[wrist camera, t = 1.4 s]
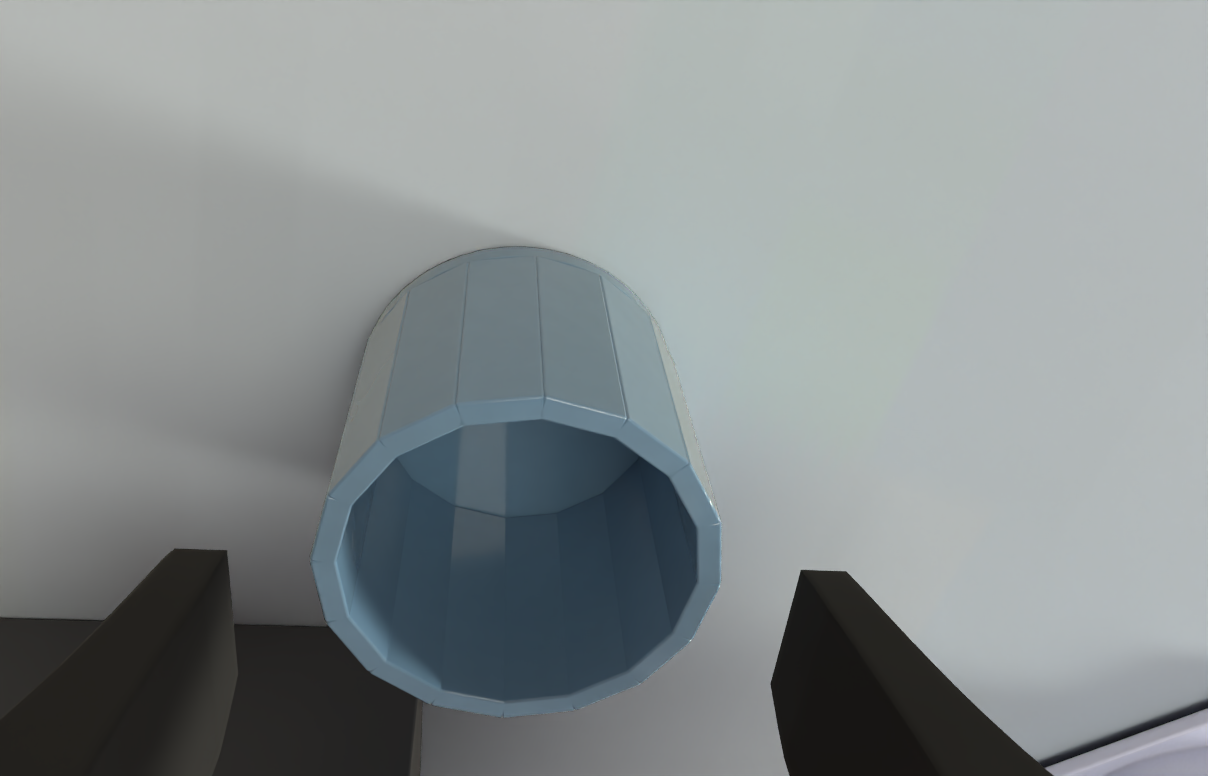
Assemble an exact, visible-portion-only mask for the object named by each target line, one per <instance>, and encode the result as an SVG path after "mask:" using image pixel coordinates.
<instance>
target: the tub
mask: <svg viewBox="0 0 1208 776" xmlns="http://www.w3.org/2000/svg"><path fill="white" fill-rule="evenodd" d="M721 555H722V523H721V519H720V515H719V512H718V508H717V505H716V502H715V498H714V495H713V492H712V488H711V485H710V481H709V478H708V475H707V471H706V468H705V465H704V461H703V458H702V455H701V451H700V448H699V444H698V441H697V438H696V434H695V431H694V428H693V424H692V421H691V417H690V414H689V411H688V407H687V404H686V401H685V397H684V394H683V390H682V387H681V384H680V380H679V377H678V374H677V370H676V367H675V363H674V361H673V359H672V357H671V355H670V353H669V351H668V349H667V346H666V343H665V340H664V338H663V336H662V333H661V331H660V328H659V326H658V325H657V323H656V321H655V320H654V318H653V316H652V315H651V313H650V311H649V310H648V309H647V308H646V306H645V305H644V304H643V303H642V301H641V300H640V299H639V298H638V297H637V296H636V295H635V294H634V293H633V292H632V291H631V290H630V289H629V288H628V287H627V286H626V285H625V284H623V283H622V282H621V281H620V280H618V279H617V278H615V277H614V276H612V275H611V274H609V273H608V272H607V271H605V270H603V269H601V268H599V267H597V266H595V265H593V264H591V263H590V262H588V261H585V260H582V259H580V258H577V257H574V256H571V255H569V254H565V253H561V252H556V251H552V250H548V249H540V248H530V247H501V248H494V249H487V250H480V251H477V252H473V253H469V254H466V255H462V256H459V257H456V258H454V259H452V260H449V261H447V262H444V263H442V264H440V265H438V266H436V267H434V268H433V269H431V270H429V271H427V272H426V273H424V274H422V275H421V276H419V277H418V278H417V279H416V280H414V281H413V282H412V283H410V284H409V285H408V286H406V287H405V288H404V289H403V290H402V291H401V292H400V293H399V294H398V295H397V296H396V297H395V298H394V299H393V300H392V301H391V303H390V304H389V305H388V307H387V308H386V309H385V311H384V312H383V314H382V315H381V316H380V318H379V320H378V322H377V323H376V325H375V327H374V329H373V331H372V333H371V335H370V338H369V339H368V341H367V345H366V348H365V352H364V356H363V360H362V363H361V367H360V371H359V375H358V378H357V382H356V386H355V389H354V393H353V397H352V401H351V404H350V408H349V412H348V416H347V419H346V423H345V427H344V431H343V434H342V438H341V442H340V445H339V449H338V453H337V457H336V460H335V464H334V468H333V472H332V475H331V479H330V483H329V486H328V490H327V494H326V498H325V501H324V505H323V509H322V513H321V516H320V520H319V524H318V528H317V532H316V535H315V539H314V543H313V547H312V550H311V554H310V565H311V569H312V572H313V576H314V580H315V584H316V588H317V592H318V596H319V600H320V604H321V607H322V611H323V615H324V619H325V621H326V622H327V625H328V626H329V627H330V628H331V629H332V631H333V632H334V633H335V634H336V635H337V636H338V638H339V639H340V640H341V641H342V642H343V643H344V645H345V646H346V647H347V648H348V649H349V650H350V651H351V653H352V654H353V655H354V656H355V657H356V658H357V660H358V661H359V662H360V663H361V664H362V665H363V667H364V668H365V669H366V670H367V671H370V673H371V674H372V675H374V676H376V677H378V678H380V679H382V680H384V681H386V682H387V683H389V684H391V685H393V686H395V687H397V688H399V689H401V690H403V691H404V692H406V693H408V694H410V695H412V696H414V697H416V698H418V699H420V700H421V701H423V702H425V703H427V704H431V705H433V706H437V707H443V708H448V709H454V710H459V711H465V712H470V713H476V714H481V715H487V716H492V717H498V718H501V717H503V718H509V717H519V716H529V715H539V714H549V713H559V712H569V711H574V709H575V710H578V709H581V708H583V707H586V706H588V705H591V704H593V703H596V702H598V701H601V700H603V699H606V698H608V697H611V696H613V695H616V694H618V693H620V692H623V691H625V690H628V689H630V688H633V687H635V686H638V685H639V684H640V683H643V682H644V681H645V680H646V679H648V678H649V677H650V676H651V675H652V674H653V673H655V672H656V671H657V670H658V669H659V668H660V667H662V666H663V665H664V664H665V663H666V662H668V661H669V660H670V659H671V658H672V657H673V656H675V655H676V654H677V653H678V652H679V651H680V650H682V649H683V648H684V647H685V646H686V645H688V644H689V643H690V641H691V640H692V639H693V638H694V636H695V634H696V632H697V630H698V628H699V626H700V624H701V622H702V620H703V618H704V616H705V614H706V613H707V611H708V609H709V607H710V605H711V603H712V601H713V599H714V597H715V595H716V593H717V591H718V589H719V587H720V583H721Z"/></svg>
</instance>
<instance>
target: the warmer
mask: <svg viewBox="0 0 1208 776" xmlns="http://www.w3.org/2000/svg"><path fill="white" fill-rule="evenodd" d="M102 622H103V621H73V620H36V619H0V718H1V717H3V716H4V715H5V714H6V713H7V712H8V711H9V710H10V709H12V708H13V707H14V706H15V705H16V704H17V703H18V702H19V701H21V700H22V699H23V698H24V697H25V696H26V695H27V694H28V693H30V692H31V691H32V690H33V689H34V688H35V687H36V686H37V685H39V684H40V683H41V682H42V681H43V680H44V679H45V678H46V677H47V676H48V675H49V674H50V673H51V672H52V671H54V670H55V669H56V668H57V667H58V666H59V665H60V664H61V663H62V662H63V661H64V660H65V659H66V658H67V657H68V656H69V655H70V654H71V653H72V652H73V651H74V650H75V649H76V648H77V647H78V646H79V645H80V644H81V643H82V642H83V641H84V640H85V639H86V638H87V637H88V636H89V635H90V634H91V633H92V632H94V631H95V630H96V629H97V628H98V627H99V626H100V624H101V623H102ZM234 633H235V644H236V655H237V666H238V677H237V682H236V686H235V691H234V695H233V700H232V705H231V709H230V714H229V718H228V723H227V727H226V731H225V735H224V740H223V744H222V748H221V752H220V755H219V758H218V761H217V764H216V767H215V770H214V773H213V775H212V776H420V767H421V737H422V707H423V701H421V700H420V699H418V698H416V697H414V696H412V695H410V694H408V693H406V692H404V691H403V690H401V689H399V688H397V687H395V686H393V685H391V684H389V683H387V682H386V681H384V680H382V679H380V678H378V677H376V676H374V675H372V674H371V673H370V671H367V670H366V669H365V668H364V667H363V665H362V664H361V663H360V662H359V661H358V660H357V658H356V657H355V656H354V655H353V654H352V653H351V651H350V650H349V649H348V648H347V647H346V646H345V645H344V643H343V642H342V641H341V640H340V639H339V638H338V636H337V635H336V634H335V633H334V632H333V631H332V629H331V628H330V627H296V626H259V625H234Z"/></svg>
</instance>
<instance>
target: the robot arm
mask: <svg viewBox="0 0 1208 776" xmlns="http://www.w3.org/2000/svg"><path fill="white" fill-rule="evenodd" d="M237 677H238V666H237V655H236V644H235V633H234V622H233V611H232V600H231V589H230V578H229V567H228V556H227V550H198V549H174V550H173V551H171V552H170V553H169V554H168V555H166V556H165V557H164V558H163V559H162V560H161V562H160V563H159V564H158V565H157V566H156V567H155V568H154V569H153V570H152V571H151V572H150V573H149V574H148V575H147V576H146V578H145V579H144V580H143V581H142V582H141V583H140V584H139V585H138V586H137V587H136V588H135V589H134V590H133V591H132V592H131V593H130V594H129V596H128V597H127V598H126V599H125V600H124V601H123V602H122V603H121V604H120V605H119V606H118V607H117V608H116V609H115V610H114V611H113V612H112V613H111V614H110V615H109V616H108V617H107V618H106V619H105V620H104V621H103V622H102V623H101V624H100V626H99V627H98V628H97V629H96V630H95V631H94V632H92V633H91V634H90V635H89V636H88V637H87V638H86V639H85V640H84V641H83V642H82V643H81V644H80V645H79V646H78V647H77V648H76V649H75V650H74V651H73V652H72V653H71V654H70V655H69V656H68V657H67V658H66V659H65V660H64V661H63V662H62V663H61V664H60V665H59V666H58V667H57V668H56V669H55V670H54V671H52V672H51V673H50V674H49V675H48V676H47V677H46V678H45V679H44V680H43V681H42V682H41V683H40V684H39V685H37V686H36V687H35V688H34V689H33V690H32V691H31V692H30V693H28V694H27V695H26V696H25V697H24V698H23V699H22V700H21V701H19V702H18V703H17V704H16V705H15V706H14V707H13V708H12V709H10V710H9V711H8V712H7V713H6V714H5V715H4V716H3V717H1V718H0V776H212V775H213V773H214V770H215V767H216V764H217V761H218V758H219V755H220V752H221V748H222V744H223V740H224V735H225V731H226V727H227V723H228V718H229V714H230V709H231V705H232V700H233V695H234V691H235V686H236V682H237ZM771 689H772V695H773V701H774V707H775V712H776V718H777V724H778V729H779V734H780V739H781V744H782V749H783V754H784V759H785V762H786V765H787V769H788V772H789V775H790V776H1208V708H1207V709H1204V710H1202V711H1199V712H1196V713H1193V714H1191V715H1188V716H1185V717H1182V718H1180V719H1177V720H1174V721H1171V722H1169V723H1166V724H1163V725H1161V726H1158V727H1155V728H1152V729H1150V730H1147V731H1144V732H1141V733H1139V734H1136V735H1133V736H1130V737H1128V738H1125V739H1122V740H1119V741H1117V742H1114V743H1111V744H1109V745H1106V746H1103V747H1100V748H1098V749H1095V750H1092V751H1089V752H1087V753H1084V754H1081V755H1078V756H1076V757H1073V758H1070V759H1067V760H1065V761H1062V762H1059V763H1057V764H1054V765H1051V766H1048V767H1046V768H1044V767H1043V766H1042V765H1040V764H1039V763H1038V762H1037V761H1036V760H1035V759H1033V758H1032V757H1031V756H1030V755H1029V754H1028V753H1026V752H1025V751H1024V750H1023V749H1022V748H1021V747H1020V746H1019V745H1017V744H1016V743H1015V742H1014V741H1013V740H1012V739H1011V738H1010V737H1009V736H1008V735H1007V734H1005V733H1004V732H1003V731H1002V730H1001V729H1000V728H999V727H998V726H997V725H996V724H994V723H993V722H992V721H991V720H990V719H989V718H988V717H987V716H986V715H985V714H984V713H983V712H982V711H980V710H979V709H978V708H977V707H976V706H975V705H974V704H973V703H972V702H971V701H970V700H969V699H968V698H967V697H966V696H965V695H964V694H963V693H962V692H961V691H960V690H959V689H958V688H957V687H956V686H955V685H954V684H953V683H952V682H951V681H950V680H949V679H948V678H947V677H946V676H945V675H944V674H943V673H942V672H941V671H940V670H939V669H938V668H937V667H936V666H935V665H934V664H933V663H932V662H931V661H930V660H929V659H928V658H927V657H926V656H925V655H924V653H923V652H922V651H921V650H920V649H919V648H918V647H917V646H916V645H915V644H914V643H913V642H912V641H911V640H910V639H909V638H908V637H907V636H906V634H905V633H904V632H903V631H902V630H901V629H900V628H899V627H898V626H897V625H896V624H895V623H894V622H893V621H892V620H891V618H890V617H889V616H888V615H887V614H886V613H885V612H884V611H883V610H882V609H881V608H880V607H879V606H878V604H877V603H876V602H875V601H874V600H873V599H872V598H871V597H870V596H869V595H868V594H867V593H866V592H865V590H864V589H863V588H862V587H861V586H860V585H859V584H858V583H857V582H856V581H855V580H854V579H853V578H852V577H851V576H850V575H849V574H848V573H847V572H846V571H816V570H801V572H800V576H799V580H798V583H797V587H796V591H795V595H794V598H793V602H792V606H791V610H790V613H789V617H788V621H787V625H786V628H785V632H784V636H783V639H782V643H781V647H780V651H779V654H778V658H777V662H776V666H775V669H774V673H773V677H772V681H771Z"/></svg>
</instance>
